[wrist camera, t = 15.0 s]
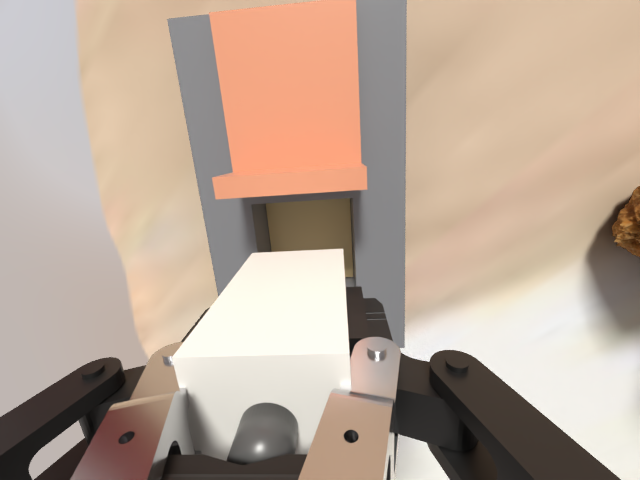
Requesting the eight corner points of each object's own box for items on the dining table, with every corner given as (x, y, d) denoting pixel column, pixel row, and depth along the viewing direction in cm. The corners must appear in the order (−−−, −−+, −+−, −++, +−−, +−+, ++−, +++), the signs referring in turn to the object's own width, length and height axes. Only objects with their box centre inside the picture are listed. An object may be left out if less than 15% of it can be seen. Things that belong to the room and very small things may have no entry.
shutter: (361, 180, 17) (367, 189, 14) (238, 189, 18) (215, 199, 14) (355, 2, 15) (360, -41, 12) (213, 17, 15) (178, -19, 12)
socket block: (393, 316, 25) (404, 347, 21) (245, 321, 25) (228, 353, 22) (392, 23, 19) (406, -8, 15) (200, 43, 20) (167, 19, 16)
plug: (343, 248, 13) (352, 396, 6) (347, 329, 15) (358, 543, 7) (252, 252, 14) (139, 399, 6) (263, 331, 15) (181, 540, 7)
